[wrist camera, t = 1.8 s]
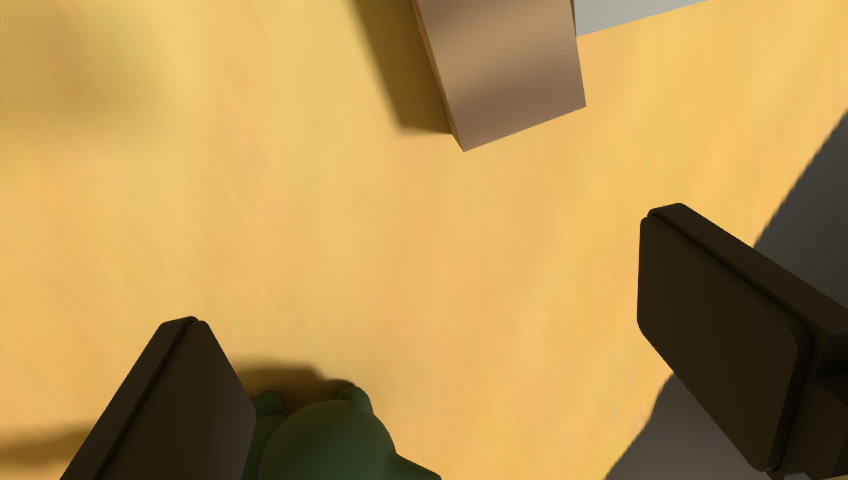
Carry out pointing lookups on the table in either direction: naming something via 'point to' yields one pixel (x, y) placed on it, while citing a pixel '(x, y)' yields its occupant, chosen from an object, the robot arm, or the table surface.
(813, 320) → the robot arm
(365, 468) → the toy figurine
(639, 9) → the peg rack
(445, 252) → the table surface
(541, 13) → the shelf plank
